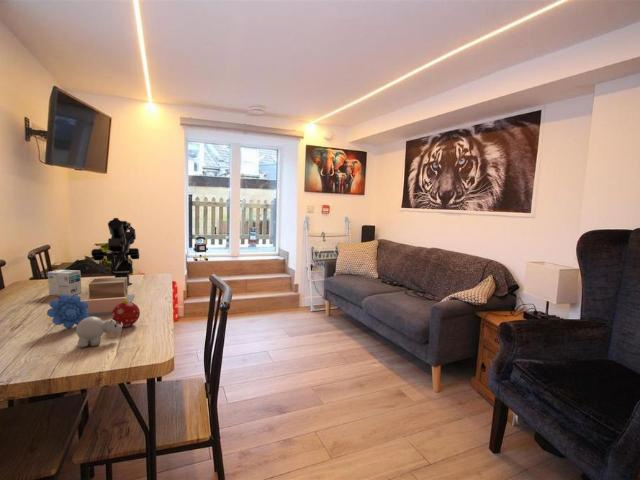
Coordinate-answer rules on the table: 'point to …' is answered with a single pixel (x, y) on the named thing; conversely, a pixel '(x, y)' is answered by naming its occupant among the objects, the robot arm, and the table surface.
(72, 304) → the blue lumpy rosette
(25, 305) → the table surface
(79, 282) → the light bulb box
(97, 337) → the round bodied animal figurine
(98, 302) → the stop bar
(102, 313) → the slate board
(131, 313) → the christmas ornament
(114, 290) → the walnut slab
